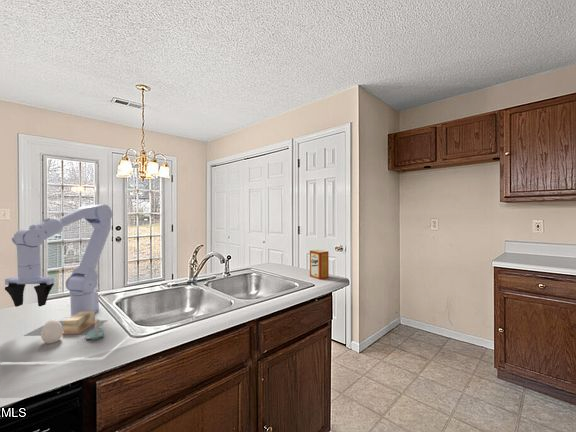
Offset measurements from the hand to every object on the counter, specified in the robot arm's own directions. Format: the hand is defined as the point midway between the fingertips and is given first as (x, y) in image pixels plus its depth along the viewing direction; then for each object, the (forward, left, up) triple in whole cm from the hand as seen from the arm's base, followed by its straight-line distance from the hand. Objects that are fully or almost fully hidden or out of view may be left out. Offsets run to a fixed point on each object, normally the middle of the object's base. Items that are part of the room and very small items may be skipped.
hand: (30, 305), depth 97 cm
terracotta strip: (-3, +14, -9) cm, 17 cm away
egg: (+7, +13, -10) cm, 18 cm away
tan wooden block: (-3, +14, -9) cm, 17 cm away
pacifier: (+5, +24, -10) cm, 26 cm away
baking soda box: (-74, +106, -10) cm, 130 cm away
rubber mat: (-3, +10, -9) cm, 14 cm away
